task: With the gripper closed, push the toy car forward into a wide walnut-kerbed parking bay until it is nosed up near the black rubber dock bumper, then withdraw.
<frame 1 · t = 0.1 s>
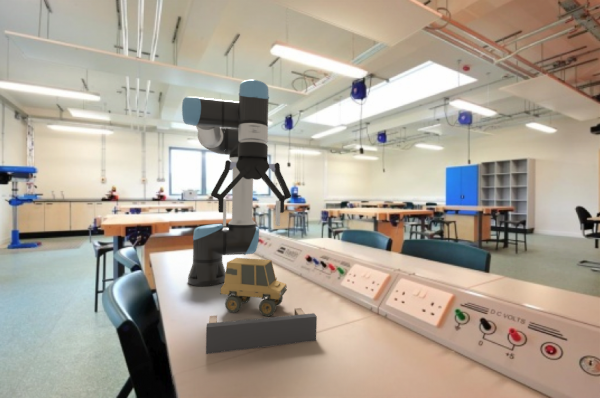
hand: (251, 225, 72), 28 cm above the lab bench, fingers open, 13 cm apart
dock bumper: (263, 344, 67), on the lab bench
bay kerbs: (259, 330, 74), on the lab bench
toy car: (253, 309, 88), on the lab bench
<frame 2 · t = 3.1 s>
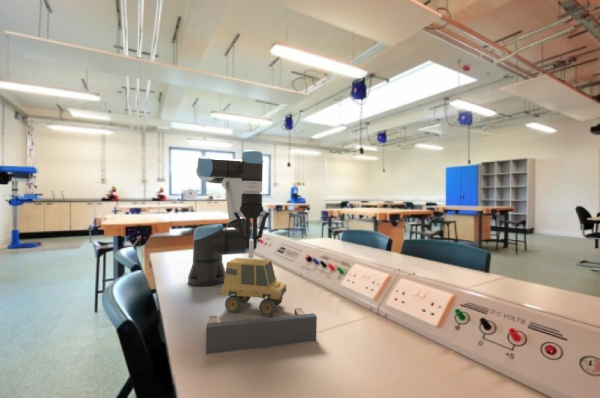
hand: (250, 257, 102), 13 cm above the lab bench, fingers closed
nothing on the lab bench moved.
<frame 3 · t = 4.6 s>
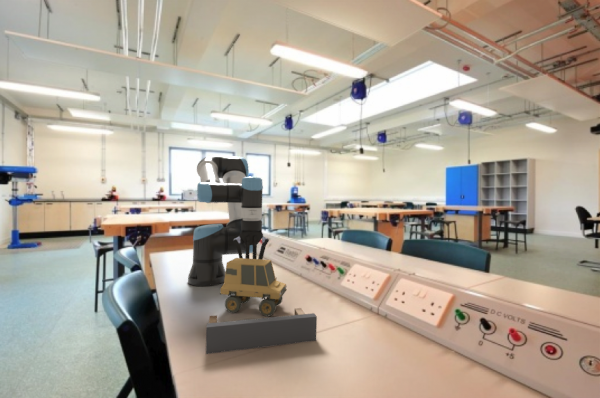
hand: (250, 284, 102), 3 cm above the lab bench, fingers closed
nothing on the lab bench moved.
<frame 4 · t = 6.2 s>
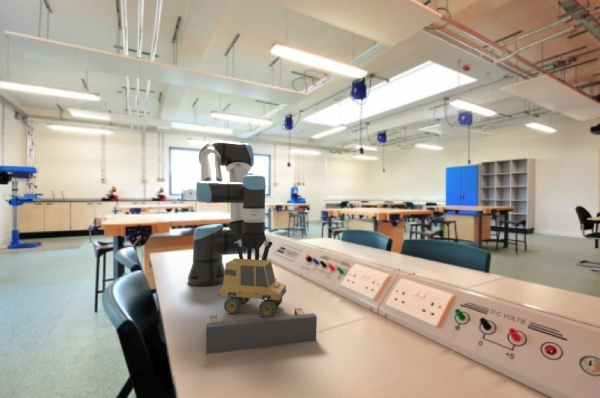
hand: (252, 290, 94), 4 cm above the lab bench, fingers closed
toy car: (253, 310, 87), on the lab bench, touching gripper
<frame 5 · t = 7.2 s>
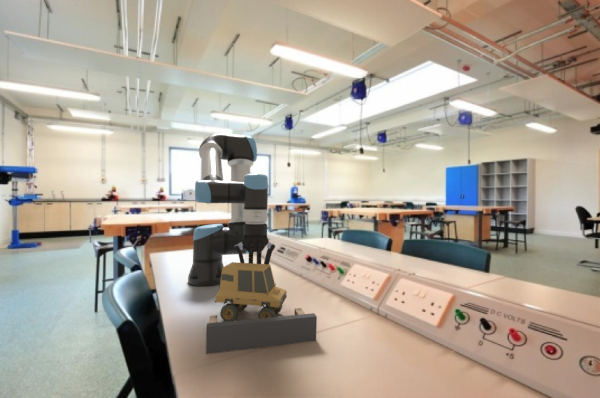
hand: (254, 296, 89), 4 cm above the lab bench, fingers closed
toy car: (251, 318, 82), on the lab bench
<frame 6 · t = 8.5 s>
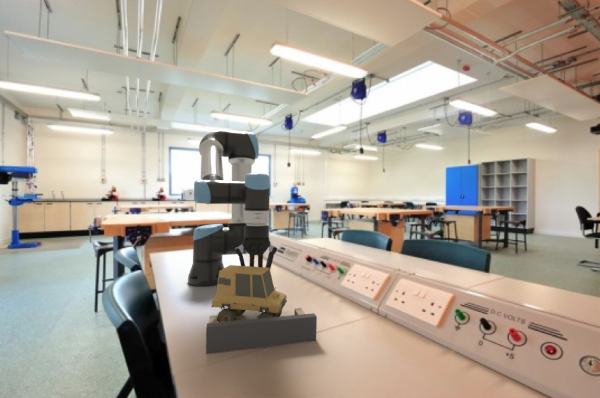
hand: (255, 301, 85), 3 cm above the lab bench, fingers closed
toy car: (249, 323, 78), on the lab bench
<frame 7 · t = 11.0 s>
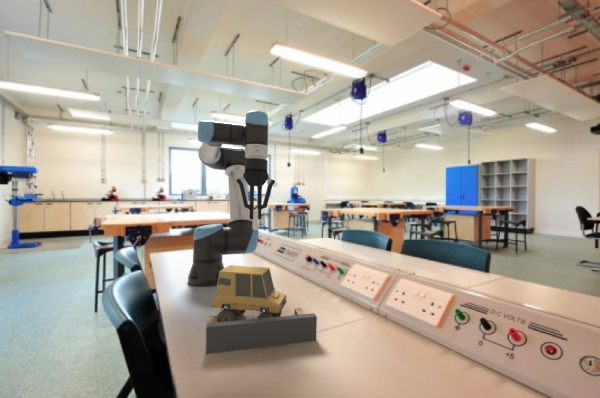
hand: (255, 229, 93), 25 cm above the lab bench, fingers closed
nothing on the lab bench moved.
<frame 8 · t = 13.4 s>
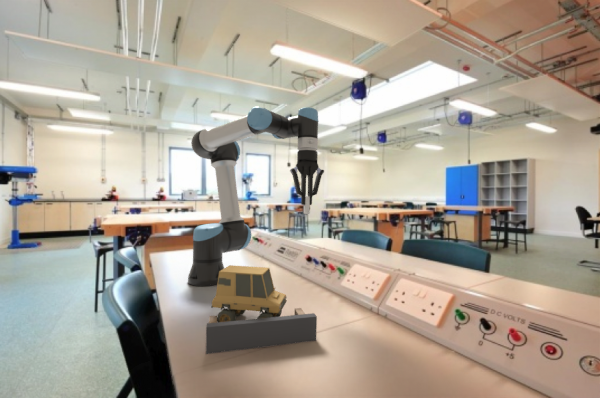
hand: (306, 213, 104), 29 cm above the lab bench, fingers closed
nothing on the lab bench moved.
at the end: toy car inside the target area (2.8 cm from its centre), on the lab bench; toy car moved 10.1 cm from its start; toy car tilted 0° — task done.
